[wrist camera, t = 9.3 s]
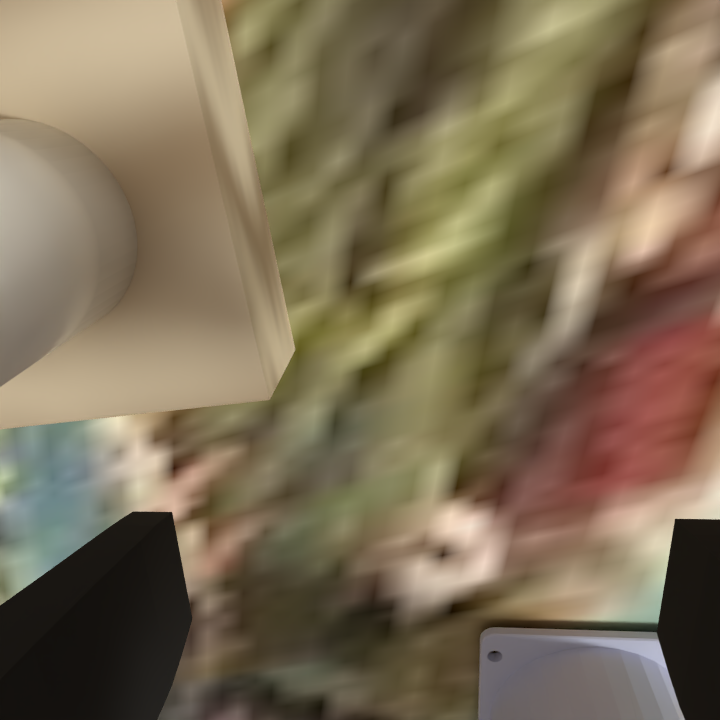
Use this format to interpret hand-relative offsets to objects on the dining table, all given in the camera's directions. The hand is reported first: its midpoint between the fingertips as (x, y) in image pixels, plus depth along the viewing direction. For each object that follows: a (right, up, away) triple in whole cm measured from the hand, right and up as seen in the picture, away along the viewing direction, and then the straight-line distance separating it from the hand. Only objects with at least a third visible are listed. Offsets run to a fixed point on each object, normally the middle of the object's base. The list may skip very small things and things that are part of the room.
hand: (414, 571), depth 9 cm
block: (-8, +8, +10) cm, 15 cm away
